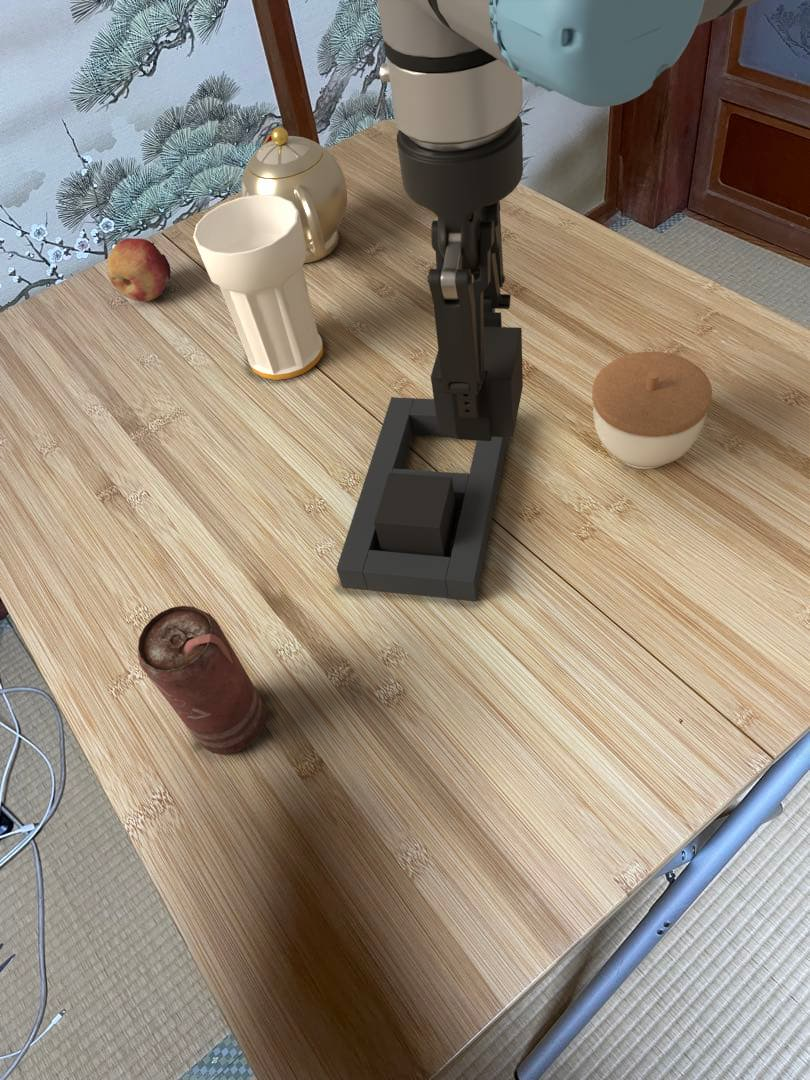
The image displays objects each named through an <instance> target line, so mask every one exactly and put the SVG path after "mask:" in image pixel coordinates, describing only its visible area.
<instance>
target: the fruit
mask: <svg viewBox="0 0 810 1080" xmlns="http://www.w3.org/2000/svg"><path fill="white" fill-rule="evenodd" d="M106 275H107V277H108V279H109V281H110V283H111V285H112V286H113V287H114V288H115V289H116V291H118V292H119V293H120V294H122V295H123V296H124V297H126V298H127V299H130V300H132V301H135V302H149V301H153V300H155V299H156V298H158V297H159V296H161V295H162V294H163V292H164V289H166V286H167V283H168V282H169V281H170V279H171V276H172V274H171V265H170V263H169V260H168V258H167V257H166V256H165V254H162V252H161V251H160V250H159V249H158V248H157V246H156V245H155V242H152V241H150V240H147V239H146V238H124V239H122V240H120V241H118V242H117V243H116V244H115V246H114V247H113V248H112V250H111V251H110V253H109V255H108V258H107V264H106Z"/></svg>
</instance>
